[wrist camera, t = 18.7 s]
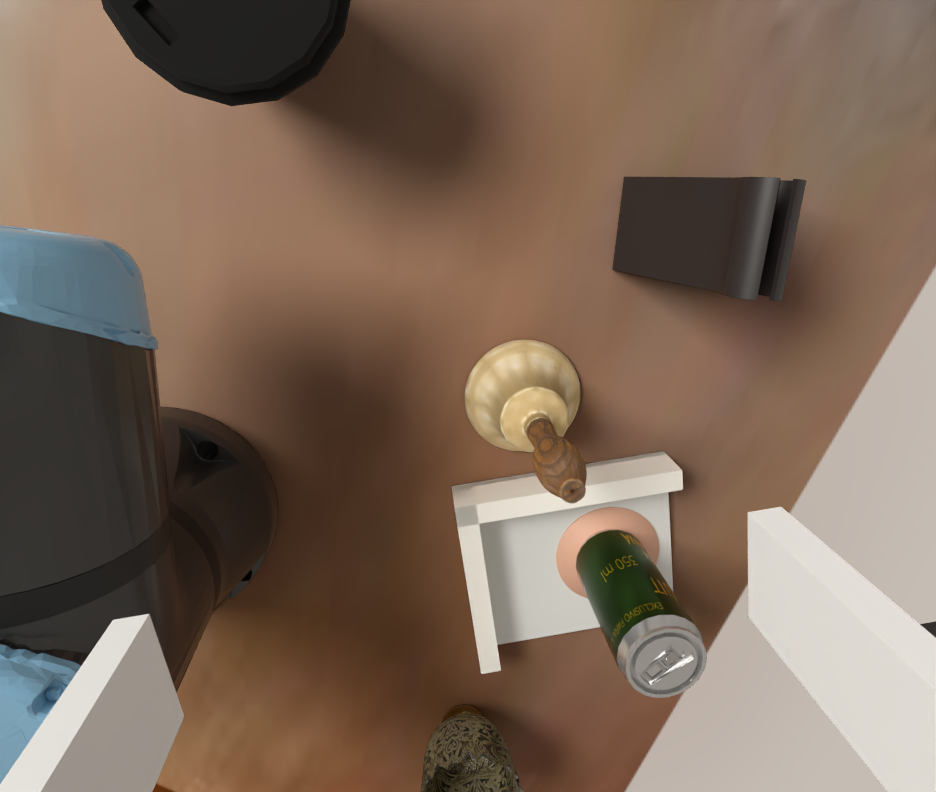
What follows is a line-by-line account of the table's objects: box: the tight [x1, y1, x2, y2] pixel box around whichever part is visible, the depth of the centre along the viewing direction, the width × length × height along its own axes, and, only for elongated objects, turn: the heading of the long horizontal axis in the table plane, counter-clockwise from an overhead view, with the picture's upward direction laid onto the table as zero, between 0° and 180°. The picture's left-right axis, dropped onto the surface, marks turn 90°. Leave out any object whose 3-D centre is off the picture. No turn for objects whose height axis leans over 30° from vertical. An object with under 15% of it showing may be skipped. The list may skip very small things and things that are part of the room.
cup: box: [421, 705, 523, 792], centre depth 51 cm, size 8×7×8 cm
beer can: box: [576, 529, 707, 698], centre depth 45 cm, size 5×5×12 cm
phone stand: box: [612, 177, 806, 301], centre depth 38 cm, size 9×6×12 cm, turn 86°
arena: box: [451, 451, 683, 674], centre depth 49 cm, size 16×14×4 cm
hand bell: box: [465, 339, 587, 503], centre depth 39 cm, size 8×8×16 cm
